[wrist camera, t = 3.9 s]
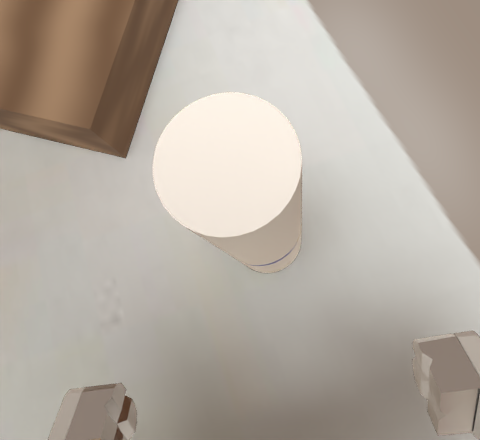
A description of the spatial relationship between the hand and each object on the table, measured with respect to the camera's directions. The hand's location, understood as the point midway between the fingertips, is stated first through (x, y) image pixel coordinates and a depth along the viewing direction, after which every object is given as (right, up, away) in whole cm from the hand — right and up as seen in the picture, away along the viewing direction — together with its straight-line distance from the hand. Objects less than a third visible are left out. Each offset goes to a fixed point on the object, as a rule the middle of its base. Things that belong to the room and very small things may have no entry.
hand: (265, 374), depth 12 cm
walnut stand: (-13, +17, +20) cm, 29 cm away
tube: (+1, +3, +15) cm, 15 cm away
